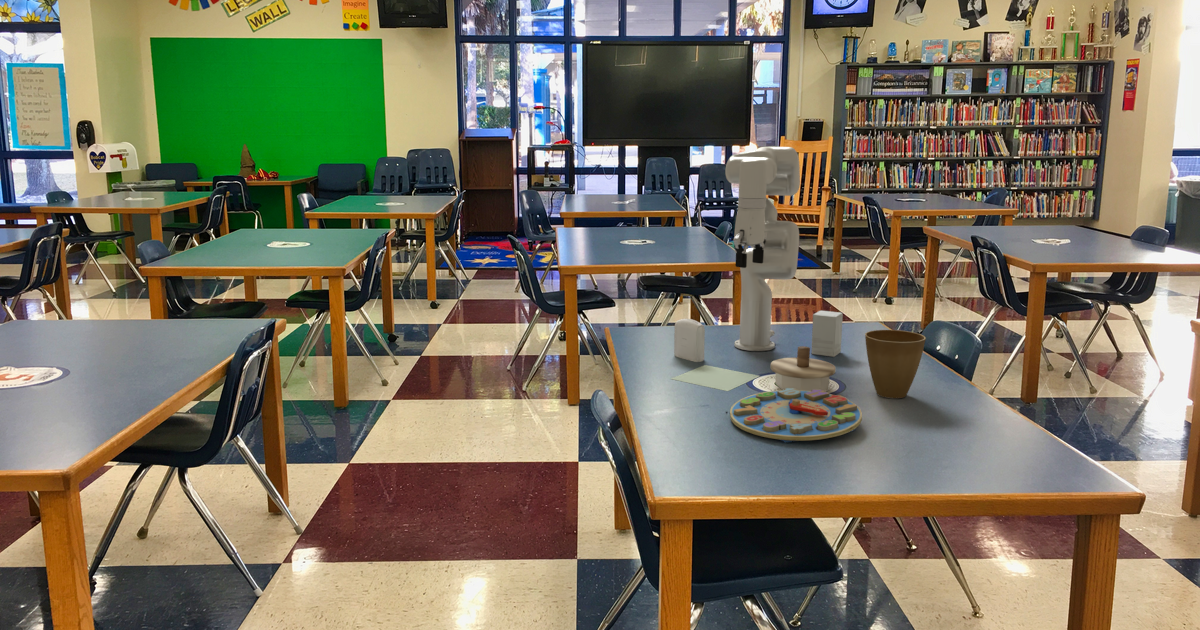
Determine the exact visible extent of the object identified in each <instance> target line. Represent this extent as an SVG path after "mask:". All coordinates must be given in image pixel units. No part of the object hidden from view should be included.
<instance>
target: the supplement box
mask: <svg viewBox="0 0 1200 630" xmlns="http://www.w3.org/2000/svg"><path fill="white" fill-rule="evenodd" d="M843 316H844V315H843V312H840V311H839V312H837V311H829V310H818V311H817V312H815V313H813V314H812V327H811V328H812V334H811V352H810V353H811V355H817V356H823V357H824V356H825V357H826V356H827V357H833V358H835V357H836V356H837V355H839V354H840V353H841V352H842V335H843Z"/></svg>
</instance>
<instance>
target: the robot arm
mask: <svg viewBox="0 0 1200 630" xmlns="http://www.w3.org/2000/svg"><path fill="white" fill-rule="evenodd" d="M724 172H725V178H726V180H727V181H728V182H729V183H730V184H733V185H734V184H736V185H737V184H738V198H737V199H738V202H737V203H738V205H737V213H736V217H735V225H734V235H733V236H734V237H733V247H734V253H735V263H734V264H735V267H736V268H739V269H740V270H739V271H740V277H741V278H740V282H741V293H740V294H741V296H740V320H739V321H740V322H739V339H737V340H735V341H734V347H735V348H737V349H739V350H744V351H751V352H766V351H771V350H773V349H775V347H776V346H775V342H773V341H772V340H771V337H773V336H775V334H776V333H775V331H774V330H773V329H771V327H772V326H771V324H772V308H773V307H772V302H773V292H772V289H771V287H770V286H769V284H768V283H767V281H766V280H791V279H793V278H794V277H795V275H796V273H797V268H798V259H799V258H798V257H799V247H800V246H799V245H800V230H799V226H798V225H797V224H796V223H795V222H794V221H789V220H778V210H777V208H776V206H775V205H774V203H773V202H772V201H770V199H768V198H767V196H785V197H787V196H788V197H789V196H794V195H796V194H797V193H798V192H799V190H800V186H801V174H800V172H801V171H800V159H799V154H798V152H797V150H796V149H795V148H793V147H792V146H761V147H759V148H756V149H755V150H753V151H748V152H743V153H742V152H741V153H737V154H733V155H731V156H730V157H729V158H728V160H727V162H726V164H725V171H724Z"/></svg>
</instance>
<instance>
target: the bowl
mask: <svg viewBox="0 0 1200 630" xmlns="http://www.w3.org/2000/svg"><path fill="white" fill-rule="evenodd" d="M830 377H831V376H829V377H825V378H815V379H805V378H794V377H788V376H784V375H780V374H777V373H775V377H774V378H775V381H774V383H775V385H776V386H778V387H779V389H780V390H784V389H786V388H795V389H797V390H803V391H811V390H814V389H816V390H823V391H825V392H827V391H829V390H830V389H829V388H830Z"/></svg>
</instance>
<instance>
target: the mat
mask: <svg viewBox="0 0 1200 630" xmlns="http://www.w3.org/2000/svg"><path fill="white" fill-rule="evenodd" d="M759 377H761V375H759V374H752V373H748V372H744V371H743V372H741V371H737V370H733V369H728V368H727V369H726V368H721V367H717V366H712V365H706V364H704V365H701V366H699V367H696V368H695V369H694V368H693V369H691V370H689V371H687V372H685V373H682V374H679V375H677V376H674V377H672V378H670V380H672V381H673V380H674V381H677V382H683V383H688V384H691V385H692V384H693V385H697V386H701V387H704V388H705V387H706V388H710V389H715V390H720V391H724V392H730V391H731V390H734V389H736V388H738V387H741V386H742V385H744V384H746V383H749V382H751V381H753V380H755V379H757V378H759Z"/></svg>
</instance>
